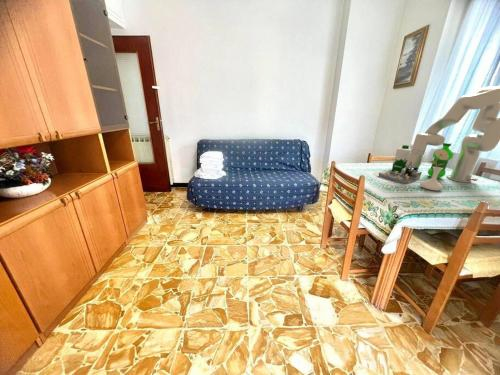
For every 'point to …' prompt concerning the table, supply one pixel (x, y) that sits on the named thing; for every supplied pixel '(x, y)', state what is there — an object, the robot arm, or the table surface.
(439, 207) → the table surface
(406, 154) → the milk carton
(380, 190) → the table surface
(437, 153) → the flower in vase
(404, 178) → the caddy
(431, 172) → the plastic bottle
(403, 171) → the block
